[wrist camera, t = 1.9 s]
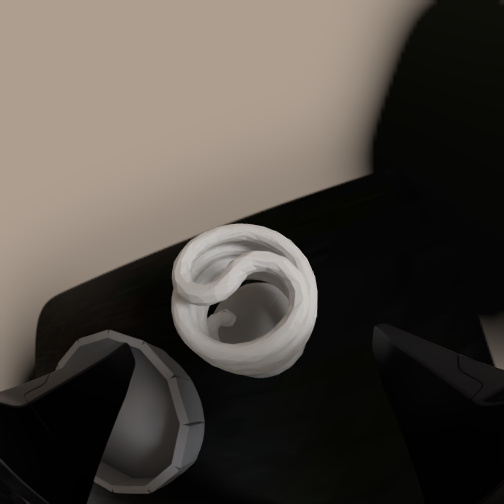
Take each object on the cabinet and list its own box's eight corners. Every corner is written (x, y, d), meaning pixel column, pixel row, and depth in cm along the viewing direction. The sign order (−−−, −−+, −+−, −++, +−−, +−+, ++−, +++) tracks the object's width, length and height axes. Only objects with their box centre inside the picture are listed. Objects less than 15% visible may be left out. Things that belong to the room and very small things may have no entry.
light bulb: (223, 379, 18) (130, 348, 7) (232, 306, 20) (169, 202, 10) (304, 385, 17) (323, 369, 6) (308, 308, 20) (321, 199, 9)
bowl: (189, 504, 13) (170, 519, 10) (70, 443, 15) (43, 444, 12) (220, 364, 18) (205, 357, 15) (95, 327, 21) (71, 315, 18)
